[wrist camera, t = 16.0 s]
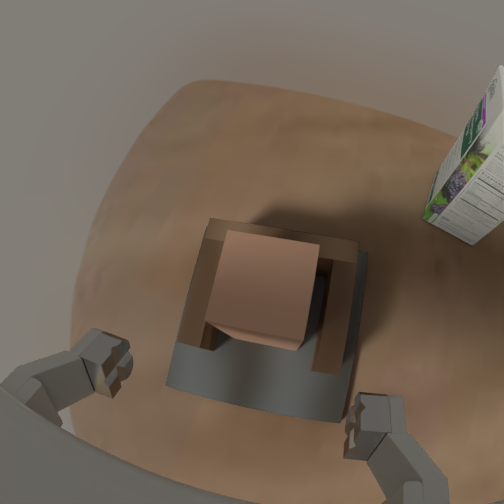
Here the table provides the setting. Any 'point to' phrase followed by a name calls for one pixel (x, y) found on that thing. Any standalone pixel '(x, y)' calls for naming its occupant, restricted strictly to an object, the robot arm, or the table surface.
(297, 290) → the block
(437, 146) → the table surface
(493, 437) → the table surface
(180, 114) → the table surface
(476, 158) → the syrup box
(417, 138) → the table surface
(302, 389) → the stop cradle
